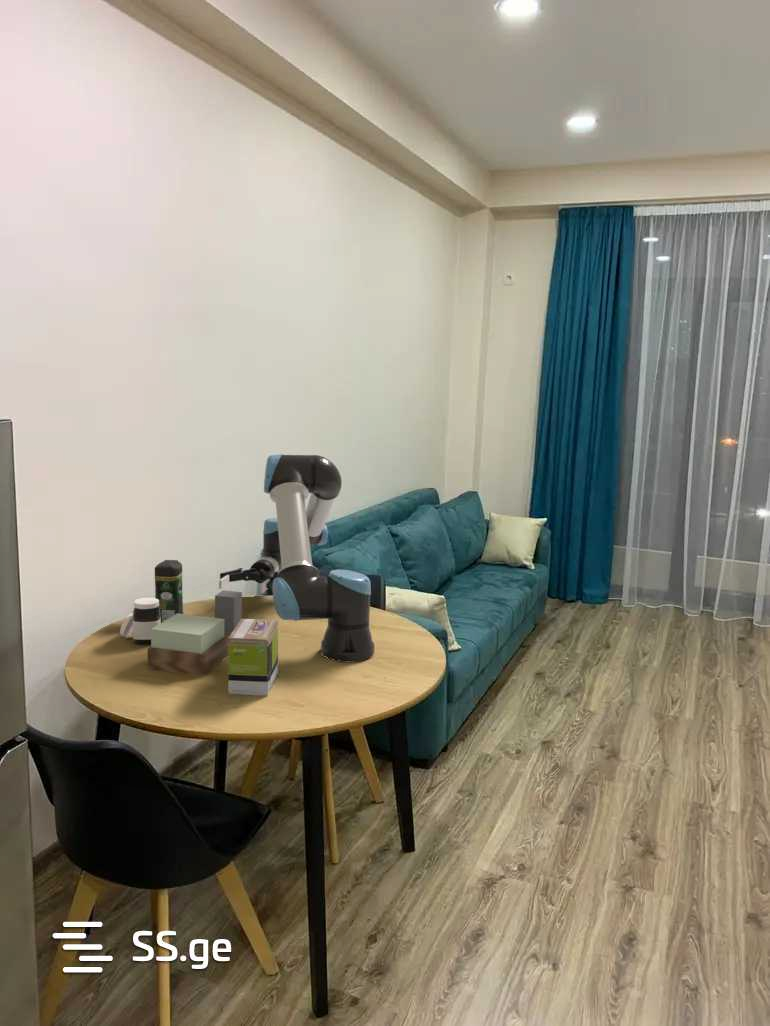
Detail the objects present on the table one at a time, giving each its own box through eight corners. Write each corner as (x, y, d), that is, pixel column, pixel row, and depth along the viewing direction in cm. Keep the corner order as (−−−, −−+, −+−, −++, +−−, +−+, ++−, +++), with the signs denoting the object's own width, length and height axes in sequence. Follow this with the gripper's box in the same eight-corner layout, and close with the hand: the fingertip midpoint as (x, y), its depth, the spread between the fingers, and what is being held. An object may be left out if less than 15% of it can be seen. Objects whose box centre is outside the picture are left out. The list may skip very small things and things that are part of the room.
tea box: (240, 671, 198) (241, 616, 195) (278, 673, 197) (279, 618, 195) (226, 694, 183) (227, 636, 180) (268, 697, 183) (269, 638, 180)
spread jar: (160, 645, 214) (159, 605, 212) (117, 647, 211) (117, 607, 209) (161, 631, 225) (161, 593, 223) (121, 633, 222) (121, 594, 220)
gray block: (241, 630, 229) (241, 592, 227) (233, 636, 223) (234, 597, 221) (222, 628, 230) (223, 590, 228) (214, 634, 224) (215, 595, 222)
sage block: (224, 636, 207) (224, 619, 206) (200, 653, 193) (200, 635, 193) (177, 630, 210) (177, 613, 209) (151, 647, 196) (151, 628, 196)
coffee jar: (160, 614, 241) (159, 557, 238) (185, 615, 241) (185, 558, 238) (152, 624, 231) (151, 565, 228) (178, 624, 232) (177, 565, 229)
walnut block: (229, 655, 209) (229, 635, 208) (205, 677, 194) (205, 654, 193) (175, 649, 212) (175, 629, 211) (147, 670, 197) (147, 648, 196)
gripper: (299, 584, 254) (278, 602, 233) (229, 577, 258) (203, 594, 238) (300, 562, 253) (279, 578, 232) (229, 555, 257) (203, 571, 237)
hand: (240, 586), depth 235 cm, fingers open, 13 cm apart
